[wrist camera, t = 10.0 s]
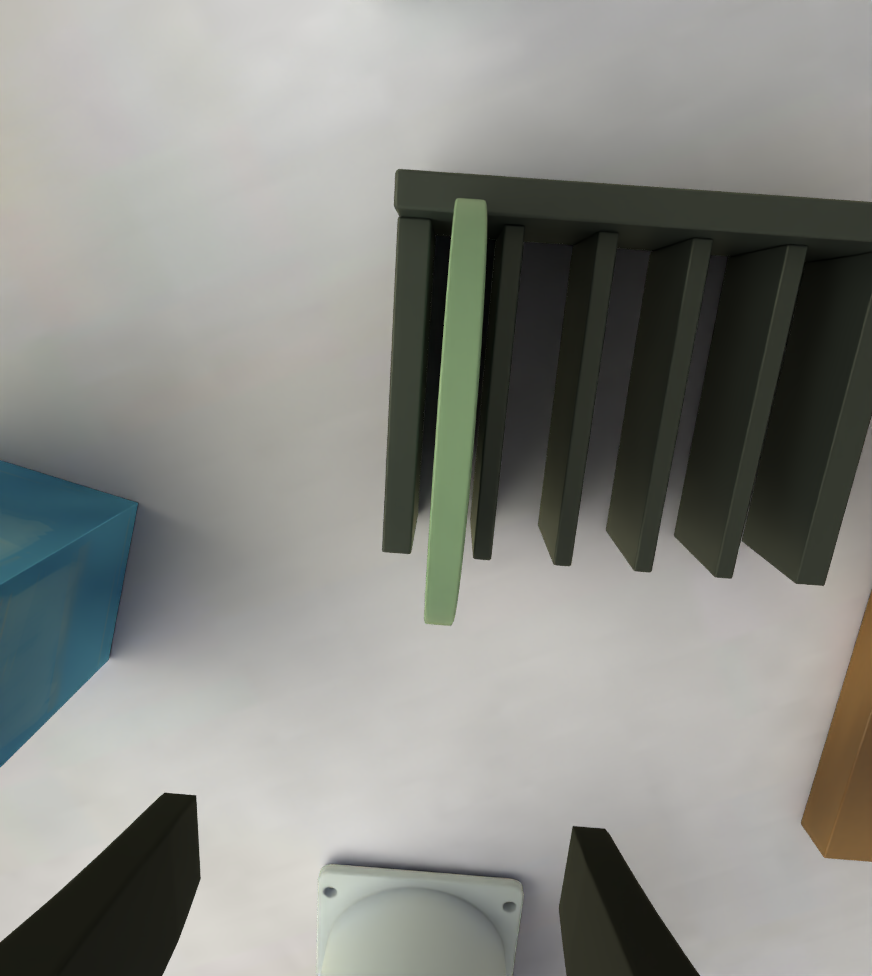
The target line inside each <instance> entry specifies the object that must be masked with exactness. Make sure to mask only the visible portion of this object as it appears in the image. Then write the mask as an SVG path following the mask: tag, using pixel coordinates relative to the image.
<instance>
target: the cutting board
mask: <svg viewBox="0 0 872 976" xmlns="http://www.w3.org/2000/svg"><path fill="white" fill-rule="evenodd" d="M801 825H802V826H803V828H804V829H805V831H806V832H807V833H808V835H809V836H810V838H811V839H812V841H813V842H814V844H815V845H816V847H817V848H818V850H819V851H820V853H821V854H822V856H823V857H824V858H832V859H844V860H857V861H869V862H872V591H871V594H870V597H869V601H868V604H867V607H866V610H865V614H864V617H863V620H862V624H861V627H860V630H859V633H858V637H857V640H856V643H855V647H854V650H853V653H852V657H851V660H850V663H849V666H848V670H847V673H846V676H845V680H844V683H843V686H842V690H841V693H840V696H839V699H838V703H837V706H836V709H835V713H834V716H833V719H832V722H831V726H830V729H829V732H828V736H827V739H826V742H825V746H824V749H823V752H822V755H821V759H820V762H819V765H818V769H817V772H816V775H815V778H814V782H813V785H812V788H811V792H810V795H809V798H808V802H807V805H806V808H805V811H804V815H803V818H802V821H801Z"/></svg>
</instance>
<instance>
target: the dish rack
mask: <svg viewBox="0 0 872 976" xmlns="http://www.w3.org/2000/svg"><path fill="white" fill-rule="evenodd" d="M394 207H395V209H396V211H397V213H398V214H399V216H400V217H399V218H398V224H397V245H396V266H395V288H394V309H393V330H392V352H391V373H390V394H389V416H388V437H387V458H386V480H385V501H384V522H383V543H382V551H383V552H389V553H402V554H410V553H411V550H412V545H413V540H414V534H415V529H416V523H417V518H418V506H419V491H420V475H421V460H422V444H423V428H424V413H425V397H426V382H427V366H428V350H429V335H430V319H431V304H432V288H433V272H434V257H435V241H436V237H435V235H437V236H451V246H450V257H449V269H448V281H447V293H446V306H445V318H444V331H443V344H442V356H441V370H440V383H439V396H438V410H437V423H436V437H435V451H434V465H433V480H432V494H431V509H430V524H429V539H428V555H427V572H426V589H425V610H424V621H425V623H426V624H434V625H447V626H451V625H452V624H453V622H454V618H455V613H456V607H457V601H458V594H459V586H460V578H461V570H462V561H463V552H464V543H465V533H466V523H467V513H468V503H469V492H470V481H471V471H472V459H473V447H474V436H475V423H476V411H477V398H478V385H479V371H480V357H481V342H482V327H483V311H484V294H485V274H486V252H487V239H493V240H496V242H495V251H494V262H493V273H492V284H491V295H490V307H489V318H488V329H487V340H486V351H485V362H484V373H483V384H482V395H481V406H480V417H479V428H478V439H477V450H476V461H475V472H474V483H473V494H472V505H471V516H470V524H471V537H472V550H473V558H474V559H481V560H490V559H491V555H492V545H493V536H494V526H495V516H496V506H497V497H498V487H499V477H500V468H501V458H502V448H503V439H504V429H505V419H506V410H507V400H508V390H509V380H510V371H511V361H512V351H513V342H514V332H515V322H516V313H517V303H518V293H519V283H520V274H521V264H522V254H523V245H524V242H536V243H550V244H564V245H574V246H573V249H572V257H571V265H570V273H569V281H568V289H567V297H566V305H565V313H564V321H563V329H562V337H561V345H560V353H559V361H558V369H557V377H556V385H555V393H554V401H553V409H552V417H551V425H550V433H549V441H548V449H547V457H546V465H545V473H544V481H543V489H542V497H541V505H540V513H539V521H538V526H539V529H540V531H541V534H542V536H543V539H544V541H545V544H546V547H547V549H548V552H549V554H550V557H551V559H552V562H553V564H554V565H560V566H571V563H572V556H573V549H574V542H575V536H576V529H577V522H578V515H579V508H580V501H581V494H582V487H583V480H584V473H585V466H586V460H587V453H588V446H589V439H590V432H591V425H592V418H593V411H594V404H595V397H596V390H597V384H598V377H599V370H600V363H601V356H602V349H603V342H604V335H605V328H606V321H607V314H608V308H609V301H610V294H611V287H612V280H613V273H614V266H615V259H616V252H617V248H620V249H634V250H648V251H651V253H650V257H649V264H648V270H647V276H646V283H645V289H644V295H643V301H642V308H641V314H640V320H639V326H638V333H637V339H636V345H635V351H634V358H633V364H632V370H631V376H630V383H629V389H628V395H627V401H626V408H625V414H624V420H623V426H622V433H621V439H620V445H619V452H618V458H617V464H616V470H615V477H614V483H613V489H612V495H611V502H610V508H609V514H608V520H607V527H606V531H607V533H608V534H609V536H610V537H611V539H612V540H613V541H614V543H615V544H616V546H617V547H618V549H619V550H620V551H621V553H622V554H623V556H624V557H625V559H626V560H627V561H628V563H629V564H630V566H631V567H632V569H633V570H634V571H638V572H651V571H652V566H653V561H654V556H655V550H656V545H657V539H658V534H659V529H660V523H661V518H662V513H663V507H664V502H665V497H666V491H667V486H668V481H669V475H670V470H671V465H672V459H673V454H674V448H675V443H676V438H677V432H678V427H679V422H680V416H681V411H682V406H683V400H684V395H685V390H686V384H687V379H688V373H689V368H690V363H691V357H692V352H693V347H694V341H695V336H696V331H697V325H698V320H699V315H700V309H701V304H702V298H703V293H704V288H705V282H706V277H707V272H708V266H709V261H710V256H711V255H719V256H730V257H729V258H728V261H727V266H726V271H725V276H724V281H723V286H722V292H721V297H720V302H719V307H718V312H717V317H716V322H715V328H714V333H713V338H712V343H711V348H710V353H709V358H708V363H707V369H706V374H705V379H704V384H703V389H702V394H701V399H700V405H699V410H698V415H697V420H696V425H695V430H694V435H693V441H692V446H691V451H690V456H689V461H688V466H687V471H686V476H685V482H684V487H683V492H682V497H681V502H680V507H679V512H678V518H677V523H676V528H675V533H674V536H675V537H676V538H677V539H678V540H679V541H680V543H681V544H682V545H683V546H684V547H685V548H686V549H687V550H688V551H689V552H690V553H691V554H692V555H693V556H694V557H695V558H696V559H697V560H698V561H699V562H700V563H701V564H702V565H703V566H704V567H705V568H706V569H707V570H708V571H709V572H710V573H711V574H712V575H713V576H714V577H717V578H732V577H733V572H734V568H735V564H736V559H737V555H738V550H739V546H740V542H741V537H742V533H743V529H744V524H745V520H746V516H747V511H748V507H749V502H750V498H751V494H752V489H753V485H754V481H755V476H756V472H757V468H758V463H759V459H760V454H761V450H762V446H763V441H764V437H765V433H766V428H767V424H768V420H769V415H770V411H771V407H772V402H773V398H774V393H775V389H776V385H777V380H778V376H779V372H780V367H781V363H782V359H783V354H784V350H785V345H786V341H787V337H788V332H789V328H790V324H791V319H792V315H793V311H794V306H795V302H796V297H797V293H798V289H799V284H800V280H801V276H802V271H803V267H804V263H805V262H807V263H806V264H805V268H804V273H803V277H802V281H801V286H800V290H799V295H798V299H797V303H796V308H795V312H794V316H793V321H792V325H791V329H790V334H789V338H788V342H787V347H786V351H785V355H784V360H783V364H782V369H781V373H780V377H779V382H778V386H777V390H776V395H775V399H774V403H773V408H772V412H771V416H770V421H769V425H768V429H767V434H766V438H765V442H764V447H763V451H762V456H761V460H760V464H759V469H758V473H757V477H756V482H755V486H754V490H753V495H752V499H751V503H750V508H749V512H748V516H747V521H746V525H745V530H744V534H743V538H742V542H744V543H745V544H746V545H747V546H749V547H750V548H751V549H753V550H754V551H755V552H756V553H758V554H759V555H760V556H761V557H763V558H764V559H765V560H766V561H768V562H769V563H770V564H772V565H773V566H774V567H775V568H777V569H778V570H779V571H780V572H782V573H783V574H784V575H786V576H787V577H788V578H789V579H791V580H792V581H793V582H794V583H796V584H807V585H820V586H824V585H825V581H826V578H827V574H828V570H829V567H830V563H831V560H832V556H833V552H834V549H835V545H836V542H837V538H838V534H839V531H840V527H841V524H842V520H843V517H844V513H845V509H846V506H847V502H848V499H849V495H850V491H851V488H852V484H853V481H854V477H855V473H856V470H857V466H858V463H859V459H860V455H861V452H862V448H863V445H864V441H865V437H866V434H867V430H868V427H869V423H870V419H871V416H872V202H864V201H850V200H836V199H822V198H807V197H793V196H779V195H764V194H750V193H736V192H721V191H707V190H693V189H678V188H664V187H650V186H635V185H621V184H607V183H592V182H578V181H564V180H549V179H535V178H521V177H506V176H492V175H478V174H463V173H449V172H435V171H420V170H406V169H398V170H397V171H396V173H395V193H394Z"/></svg>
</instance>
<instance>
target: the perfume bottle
mask: <svg viewBox="0 0 872 976" xmlns="http://www.w3.org/2000/svg"><path fill="white" fill-rule="evenodd" d="M137 506H138V503H137V502H134V501H130V500H127V499H124V498H121V497H117V496H114V495H111V494H108V493H104V492H101V491H98V490H95V489H91V488H88V487H85V486H82V485H79V484H75V483H72V482H69V481H66V480H62V479H59V478H56V477H53V476H49V475H46V474H43V473H40V472H36V471H33V470H30V469H27V468H23V467H20V466H17V465H14V464H11V463H7V462H4V461H1V460H0V767H1V766H2V765H3V764H4V763H5V762H6V761H7V760H8V759H9V758H10V757H11V756H12V755H13V754H14V753H15V752H16V751H17V750H18V749H19V748H20V747H22V746H23V745H24V744H25V743H26V742H27V741H28V740H29V739H30V738H31V737H32V736H33V735H34V734H35V733H36V732H37V731H38V730H39V729H40V728H41V727H42V726H43V725H44V724H45V723H46V722H47V721H48V720H49V719H50V718H51V717H52V716H53V715H54V714H55V713H56V712H57V711H58V710H59V709H60V708H61V707H62V706H63V705H64V704H65V703H66V702H67V701H68V700H69V699H70V698H71V697H72V696H73V695H74V694H75V693H76V692H77V691H78V690H79V689H80V688H81V687H82V686H83V685H84V684H85V683H86V682H87V681H88V680H89V679H90V678H91V677H92V676H93V675H94V674H95V673H96V672H97V671H98V670H99V669H100V668H101V667H102V666H103V665H104V664H105V663H106V662H107V661H108V660H109V655H110V650H111V644H112V639H113V634H114V628H115V623H116V618H117V612H118V607H119V602H120V596H121V591H122V586H123V581H124V575H125V570H126V565H127V559H128V554H129V549H130V543H131V538H132V533H133V527H134V522H135V517H136V511H137Z"/></svg>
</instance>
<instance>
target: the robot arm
mask: <svg viewBox="0 0 872 976" xmlns="http://www.w3.org/2000/svg"><path fill="white" fill-rule="evenodd" d="M200 879H201V877H200V858H199V839H198V821H197V802H196V795H185V794H173V793H164V794H163V795H161V796H160V797H159V798H158V799H157V800H156V801H155V802H154V803H153V804H152V805H151V806H149V807H148V808H147V809H146V810H145V811H144V812H143V813H142V814H141V815H140V816H139V817H138V818H137V819H136V820H135V821H134V822H133V823H132V824H131V825H130V826H129V827H128V828H127V829H126V830H125V831H124V832H123V833H122V834H121V835H119V836H118V837H117V838H116V839H115V840H114V841H113V842H112V843H111V844H110V845H109V846H108V847H107V848H106V849H105V850H104V851H103V852H102V853H101V854H100V855H98V856H97V857H96V858H95V859H94V860H93V861H92V862H91V863H90V864H89V865H88V866H87V867H85V868H84V869H83V870H82V871H81V872H80V873H79V874H78V875H77V876H76V877H75V878H73V879H72V880H71V881H70V882H69V883H68V884H67V885H66V886H65V887H64V888H63V889H61V890H60V891H59V892H58V893H57V894H56V895H55V896H54V897H53V898H51V899H50V900H49V901H48V902H47V903H46V904H45V905H43V906H42V907H41V908H40V909H39V910H37V911H36V912H35V913H34V914H33V915H32V916H30V917H29V918H28V919H27V920H26V921H25V922H23V923H22V924H21V925H20V926H19V927H18V928H16V929H15V930H14V931H13V932H12V933H11V934H9V935H8V936H7V937H6V938H5V939H4V940H2V941H1V942H0V976H162V975H163V973H164V971H165V969H166V966H167V964H168V962H169V960H170V958H171V956H172V954H173V951H174V949H175V947H176V945H177V943H178V940H179V938H180V935H181V932H182V930H183V927H184V924H185V921H186V919H187V916H188V913H189V910H190V908H191V905H192V902H193V899H194V896H195V893H196V890H197V887H198V885H199V882H200ZM330 887H332V888H330ZM523 898H524V895H523V887H522V885H521V883H520V882H519V881H517V880H515V879H509V878H497V877H485V876H472V875H460V874H448V873H435V872H423V871H411V870H399V869H386V868H374V867H362V866H350V865H337V864H328V865H326V866H323V868H322V869H321V870H320V874H319V878H318V908H317V967H316V976H512V974H513V967H514V960H515V953H516V946H517V939H518V933H519V926H520V919H521V912H522V905H523ZM559 914H560V924H561V933H562V942H563V951H564V959H565V967H566V974H567V976H700V975H699V974H698V972H697V971H696V969H695V968H694V966H693V965H692V964H691V962H690V961H689V959H688V958H687V956H686V955H685V954H684V952H683V951H682V949H681V948H680V946H679V945H678V943H677V942H676V940H675V939H674V937H673V936H672V934H671V933H670V931H669V930H668V928H667V927H666V925H665V924H664V922H663V921H662V919H661V918H660V916H659V915H658V913H657V912H656V910H655V908H654V907H653V905H652V904H651V902H650V901H649V899H648V897H647V896H646V894H645V893H644V891H643V889H642V888H641V886H640V885H639V883H638V881H637V880H636V878H635V876H634V875H633V873H632V871H631V870H630V868H629V867H628V865H627V863H626V861H625V860H624V858H623V856H622V855H621V853H620V851H619V850H618V848H617V846H616V844H615V843H614V841H613V839H612V837H611V836H610V834H609V833H608V832H607V831H606V829H602V828H589V827H577V826H573V828H572V834H571V840H570V845H569V851H568V857H567V863H566V869H565V875H564V881H563V887H562V893H561V898H560V904H559Z"/></svg>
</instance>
